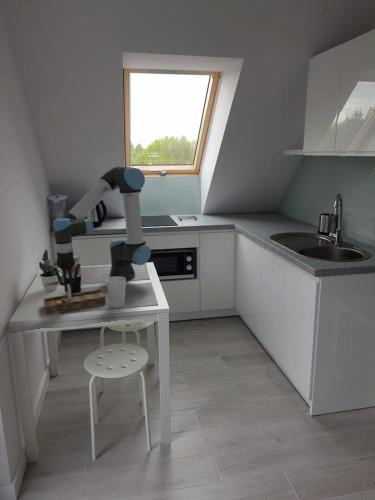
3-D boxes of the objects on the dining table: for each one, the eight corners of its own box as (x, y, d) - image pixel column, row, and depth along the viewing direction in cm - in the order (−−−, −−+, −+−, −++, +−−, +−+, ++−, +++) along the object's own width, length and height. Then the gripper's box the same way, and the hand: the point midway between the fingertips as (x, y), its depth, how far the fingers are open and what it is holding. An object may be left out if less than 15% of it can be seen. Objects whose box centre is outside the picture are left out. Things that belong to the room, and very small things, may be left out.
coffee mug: (78, 296, 203) (76, 278, 200) (63, 295, 205) (61, 277, 202) (88, 288, 214) (86, 271, 211) (73, 288, 216) (71, 270, 213)
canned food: (64, 273, 243) (62, 254, 240) (83, 272, 243) (81, 253, 240) (60, 279, 232) (57, 259, 229) (79, 278, 232) (77, 258, 229)
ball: (59, 298, 190) (53, 302, 189) (60, 300, 187) (53, 304, 186) (63, 303, 191) (56, 307, 190) (64, 306, 188) (57, 310, 187)
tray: (100, 295, 203) (100, 289, 202) (105, 303, 192) (105, 296, 191) (44, 305, 192) (43, 298, 191) (46, 314, 181) (45, 307, 180)
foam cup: (118, 309, 184) (116, 284, 181) (104, 306, 189) (101, 280, 186) (131, 303, 192) (129, 278, 189) (117, 299, 197) (115, 275, 194)
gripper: (77, 247, 190) (82, 293, 196) (49, 251, 185) (55, 297, 191) (79, 251, 183) (84, 298, 189) (51, 254, 178) (56, 302, 184)
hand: (69, 297), depth 190 cm, fingers closed
